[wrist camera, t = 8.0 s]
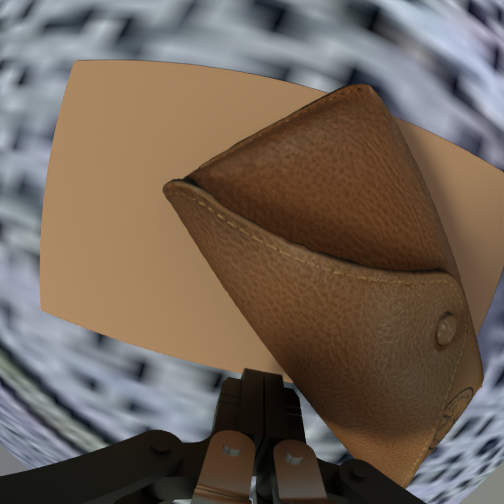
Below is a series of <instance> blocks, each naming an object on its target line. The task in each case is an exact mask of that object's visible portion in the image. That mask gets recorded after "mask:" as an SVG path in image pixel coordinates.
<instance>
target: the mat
mask: <svg viewBox="0 0 504 504" xmlns="http://www.w3.org/2000/svg"><path fill="white" fill-rule="evenodd" d="M326 94H329V93H325V92H322V91H319V90H315V89H312V88H308V87H304V86H301V85H297V84H293V83H289V82H285V81H281V80H276V79H272V78H267V77H263V76H258V75H253V74H248V73H243V72H237V71H231V70H225V69H219V68H212V67H205V66H197V65H188V64H179V63H168V62H154V61H133V60H87V61H75V62H74V65H73V68H72V71H71V74H70V77H69V80H68V84H67V87H66V90H65V94H64V97H63V101H62V105H61V109H60V112H59V116H58V121H57V125H56V129H55V134H54V139H53V143H52V149H51V154H50V159H49V165H48V172H47V178H46V186H45V194H44V203H43V213H42V225H41V243H40V301H41V310H42V311H44V312H47V313H49V314H51V315H54V316H56V317H59V318H61V319H63V320H66V321H68V322H71V323H73V324H76V325H79V326H81V327H84V328H86V329H89V330H92V331H95V332H97V333H100V334H103V335H106V336H109V337H111V338H114V339H117V340H120V341H123V342H126V343H129V344H132V345H136V346H139V347H142V348H145V349H148V350H152V351H155V352H159V353H162V354H165V355H169V356H173V357H176V358H180V359H184V360H187V361H191V362H195V363H199V364H203V365H207V366H211V367H215V368H220V369H224V370H228V371H233V372H238V373H243V370H244V368H249V369H254V370H259V371H263V372H264V371H265V372H270V373H275V374H281V375H282V376H283V381H285V382H291V383H293V382H292V380H291V379H290V378H289V376H288V375H287V374H286V373H285V371H284V370H283V369H282V367H281V366H280V365H279V363H278V362H277V361H276V360H275V358H274V357H273V356H272V354H271V353H270V352H269V350H268V349H267V348H266V346H265V345H264V344H263V342H262V341H261V340H260V338H259V337H258V335H257V334H256V333H255V331H254V330H253V329H252V327H251V326H250V324H249V323H248V321H247V320H246V319H245V317H244V316H243V315H242V314H241V312H240V310H239V309H238V307H237V306H236V305H235V303H234V301H233V300H232V299H231V297H230V296H229V294H228V292H227V291H226V290H225V289H224V288H223V286H222V284H221V283H220V281H219V279H218V278H217V276H216V275H215V273H214V272H213V270H212V269H211V267H210V266H209V264H208V262H207V261H206V259H205V258H204V257H203V255H202V254H201V252H200V250H199V248H198V247H197V245H196V244H195V242H194V240H193V239H192V237H191V236H190V235H189V233H188V230H187V229H186V227H185V226H184V225H183V223H182V221H181V220H180V218H179V216H178V214H177V213H176V211H175V210H174V208H173V207H172V205H171V204H170V202H169V201H168V200H167V199H166V197H165V195H164V193H163V186H164V185H165V184H166V183H167V182H169V181H171V180H172V179H183V178H184V177H185V176H187V175H189V174H190V173H191V172H193V171H194V170H196V169H198V168H199V166H201V165H202V164H203V163H205V162H207V161H209V160H210V159H211V158H213V157H215V156H217V155H218V154H220V153H222V152H224V151H226V150H228V149H229V148H230V147H232V146H233V145H234V144H236V143H238V142H239V141H241V140H243V139H245V138H247V137H249V136H251V135H253V134H255V133H256V132H258V131H260V130H261V129H264V128H266V127H268V126H269V125H271V124H273V123H275V122H277V121H279V120H281V119H283V118H285V117H287V116H288V115H290V114H292V113H293V112H295V111H297V110H298V109H300V108H302V107H304V106H305V105H307V104H309V103H311V102H313V101H315V100H317V99H319V98H321V97H322V96H324V95H326ZM392 117H393V119H394V120H395V121H396V123H397V124H398V126H399V129H400V131H401V133H402V135H403V137H404V138H405V140H406V143H407V144H408V146H409V149H410V152H411V153H412V156H413V158H414V159H415V161H416V163H417V165H418V167H419V170H420V172H421V174H422V177H423V179H424V181H425V183H426V186H427V188H428V190H429V192H430V195H431V198H432V200H433V202H434V204H435V206H436V209H437V212H438V215H439V217H440V220H441V223H442V225H443V228H444V231H445V233H446V235H447V238H448V242H449V244H450V247H451V251H452V253H453V256H454V259H455V262H456V264H457V268H458V271H459V274H460V277H461V282H462V285H463V288H464V291H465V295H466V299H467V302H468V306H469V310H470V314H471V318H472V322H473V326H474V330H475V335H476V337H477V335H478V333H479V331H480V328H481V326H482V324H483V321H484V319H485V317H486V314H487V312H488V309H489V307H490V304H491V302H492V299H493V296H494V294H495V291H496V288H497V285H498V282H499V279H500V276H501V273H502V270H503V267H504V172H502V171H500V170H499V169H497V168H496V167H494V166H492V165H491V164H489V163H487V162H486V161H484V160H482V159H480V158H479V157H477V156H475V155H473V154H472V153H470V152H468V151H466V150H464V149H462V148H460V147H459V146H457V145H455V144H453V143H451V142H449V141H447V140H445V139H443V138H441V137H439V136H437V135H435V134H433V133H430V132H428V131H426V130H424V129H422V128H420V127H417V126H415V125H413V124H410V123H408V122H406V121H403V120H401V119H399V118H396V117H394V116H392Z"/></svg>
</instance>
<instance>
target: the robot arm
mask: <svg viewBox="0 0 504 504" xmlns="http://www.w3.org/2000/svg"><path fill="white" fill-rule="evenodd" d="M300 407H301V406H300V400H299V397H298V396H297V394H296V393H295V391H294V390H293V389H290V388H284V384H283V376H282V375H281V374H275V373H270V372H265V371H264V372H263V371H259V370H254V369H249V368H244V370H243V373H242V377H241V379H236V378H231V377H228V378H227V379H226V380H225V381H224V382H223V383H222V386H221V390H220V394H219V398H218V402H217V406H216V410H215V415H214V421H213V426H212V431H211V435H210V437H208V438H207V439H205V440H203V441H200V442H193V443H182V442H181V440H180V439H179V438H178V437H177V436H175V435H174V434H172V433H170V432H167V431H163V430H150V431H147V432H144V433H142V434H139V435H137V436H134V437H132V438H129V439H126V440H124V441H121V442H118V443H116V444H113V445H110V446H108V447H105V448H102V449H99V450H96V451H93V452H90V453H87V454H84V455H81V456H78V457H75V458H71V459H68V460H65V461H61V462H58V463H54V464H51V465H47V466H43V467H39V468H36V469H32V470H27V471H23V472H19V473H14V474H10V475H5V476H0V504H169V503H171V502H173V501H174V500H180V499H192V500H191V504H252V501H251V500H249V494H250V487H251V480H252V476H256V485H255V487H254V489H253V492H252V498H253V504H426V503H425V502H423V501H422V500H420V499H419V498H417V497H416V496H414V495H413V494H411V493H410V492H408V491H407V490H405V489H404V488H403V487H401V486H400V485H398V484H397V483H395V482H394V481H393V480H391V479H390V478H388V477H387V476H386V475H384V474H383V473H382V472H380V471H379V470H378V469H376V468H375V467H374V466H372V465H371V464H369V463H368V462H366V461H363V460H360V459H349V460H346V461H345V462H343V463H342V464H341V466H339V465H336V464H332V463H329V462H325V461H323V460H320V459H318V458H317V457H316V455H315V452H314V451H313V449H312V448H311V447H310V446H308V445H307V444H306V439H305V432H304V426H303V419H302V416H301V415H302V413H301V409H300Z"/></svg>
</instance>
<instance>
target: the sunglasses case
mask: <svg viewBox="0 0 504 504" xmlns="http://www.w3.org/2000/svg"><path fill="white" fill-rule="evenodd" d="M163 193H164V195H165V197H166V199H167V200H168V201H169V202H170V204H171V205H172V207H173V208H174V210H175V211H176V213H177V214H178V216H179V218H180V220H181V221H182V223H183V225H184V226H185V227H186V229H187V230H188V233H189V235H190V236H191V237H192V239H193V240H194V242H195V244H196V245H197V247H198V248H199V250H200V252H201V254H202V255H203V257H204V258H205V259H206V261H207V262H208V264H209V266H210V267H211V269H212V270H213V272H214V273H215V275H216V276H217V278H218V279H219V281H220V283H221V284H222V286H223V288H224V289H225V290H226V291H227V292H228V294H229V296H230V297H231V299H232V300H233V301H234V303H235V305H236V306H237V307H238V309H239V310H240V312H241V314H242V315H243V316H244V317H245V319H246V320H247V321H248V323H249V324H250V326H251V327H252V329H253V330H254V331H255V333H256V334H257V335H258V337H259V338H260V340H261V341H262V342H263V344H264V345H265V346H266V348H267V349H268V350H269V352H270V353H271V354H272V356H273V357H274V358H275V360H276V361H277V362H278V363H279V365H280V366H281V367H282V369H283V370H284V371H285V373H286V374H287V375H288V376H289V378H290V379H291V380H292V382H293V383H294V384H295V385H296V387H297V388H298V389H299V391H300V392H301V393H302V394H303V396H304V397H305V398H306V400H307V401H308V402H309V403H310V405H311V406H312V407H313V408H314V410H315V411H316V412H317V414H318V415H319V416H320V418H321V419H322V420H323V421H324V422H325V423H326V425H327V426H328V427H329V429H330V430H331V431H332V432H333V434H334V435H335V436H336V437H337V438H338V439H339V441H340V442H341V443H342V444H343V445H344V447H345V448H346V449H347V450H348V451H349V452H350V453H351V455H352V456H353V457H354V458H355V459H360V460H363V461H366V462H368V463H369V464H371V465H372V466H374V467H375V468H376V469H378V470H379V471H380V472H382V473H383V474H384V475H386V476H387V477H388V478H390V479H391V480H393V481H394V482H395V483H397V484H398V485H400V486H401V487H403V488H404V489H406V488H407V487H408V485H409V484H410V482H411V480H412V478H413V477H414V475H415V473H416V471H417V470H418V468H419V466H420V464H421V463H422V462H423V461H424V460H425V459H426V458H427V457H428V456H429V454H430V453H431V452H432V451H433V450H434V449H435V448H436V446H437V445H438V444H439V443H440V441H442V439H443V438H444V437H445V435H446V434H447V433H448V432H449V431H450V429H451V428H452V427H453V425H454V424H455V422H456V421H457V420H458V419H459V417H460V416H461V415H462V413H463V412H464V410H465V409H466V407H467V406H468V405H469V403H470V402H471V400H472V398H473V397H474V395H475V394H476V392H477V391H478V389H480V388H481V387H482V383H483V380H484V376H483V368H482V361H481V358H480V352H479V348H478V343H477V338H476V335H475V330H474V326H473V322H472V318H471V314H470V310H469V306H468V302H467V299H466V295H465V291H464V288H463V285H462V282H461V277H460V274H459V271H458V268H457V264H456V262H455V259H454V256H453V253H452V251H451V247H450V244H449V242H448V238H447V235H446V233H445V231H444V228H443V225H442V223H441V220H440V217H439V215H438V212H437V209H436V206H435V204H434V202H433V200H432V198H431V195H430V192H429V190H428V188H427V186H426V183H425V181H424V179H423V177H422V174H421V172H420V170H419V167H418V165H417V163H416V161H415V159H414V158H413V156H412V153H411V152H410V149H409V146H408V144H407V143H406V140H405V138H404V137H403V135H402V133H401V131H400V129H399V126H398V124H397V123H396V121H395V120H394V119H393V117H392V115H391V113H390V111H389V109H388V108H387V107H386V105H385V103H384V102H383V100H382V99H381V98H380V97H379V96H378V94H377V93H376V92H375V91H374V90H373V88H372V87H371V86H370V85H368V84H351V85H347V86H343V87H341V88H339V89H337V90H335V91H333V92H331V93H329V94H326V95H324V96H322V97H321V98H319V99H317V100H315V101H313V102H311V103H309V104H307V105H305V106H304V107H302V108H300V109H298V110H297V111H295V112H293V113H292V114H290V115H288V116H287V117H285V118H283V119H281V120H279V121H277V122H275V123H273V124H271V125H269V126H268V127H266V128H264V129H261V130H260V131H258V132H256V133H255V134H253V135H251V136H249V137H247V138H245V139H243V140H241V141H239V142H238V143H236V144H234V145H233V146H232V147H230V148H229V149H228V150H226V151H224V152H222V153H220V154H218V155H217V156H215V157H213V158H211V159H210V160H209V161H207V162H205V163H203V164H202V165H201V166H199V168H198V169H196V170H194V171H193V172H191V173H190V174H189V175H187V176H185V177H184V178H183V179H172V180H171V181H169V182H167V183H166V184H165V185H164V186H163Z"/></svg>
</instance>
